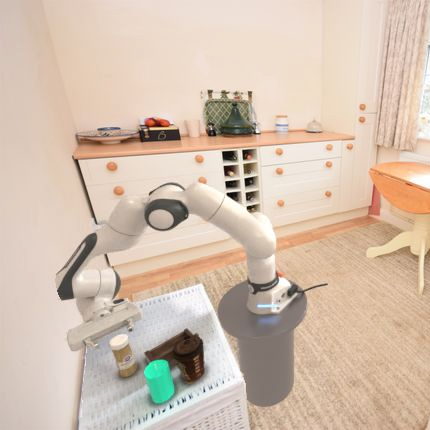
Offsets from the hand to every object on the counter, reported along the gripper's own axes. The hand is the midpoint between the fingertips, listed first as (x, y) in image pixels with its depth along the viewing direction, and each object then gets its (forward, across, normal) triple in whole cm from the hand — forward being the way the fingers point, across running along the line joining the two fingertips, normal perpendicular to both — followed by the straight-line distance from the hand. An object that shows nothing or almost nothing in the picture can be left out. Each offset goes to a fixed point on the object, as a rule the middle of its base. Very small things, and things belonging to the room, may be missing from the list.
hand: (114, 338), depth 91 cm
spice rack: (+11, +12, +9) cm, 19 cm away
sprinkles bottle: (+7, 0, +9) cm, 11 cm away
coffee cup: (+23, +13, +9) cm, 28 cm away
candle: (+22, +4, +9) cm, 24 cm away
